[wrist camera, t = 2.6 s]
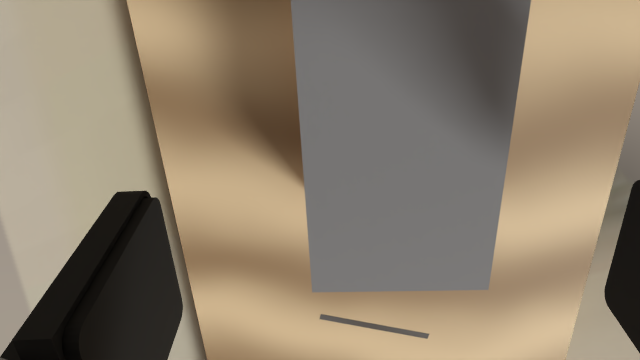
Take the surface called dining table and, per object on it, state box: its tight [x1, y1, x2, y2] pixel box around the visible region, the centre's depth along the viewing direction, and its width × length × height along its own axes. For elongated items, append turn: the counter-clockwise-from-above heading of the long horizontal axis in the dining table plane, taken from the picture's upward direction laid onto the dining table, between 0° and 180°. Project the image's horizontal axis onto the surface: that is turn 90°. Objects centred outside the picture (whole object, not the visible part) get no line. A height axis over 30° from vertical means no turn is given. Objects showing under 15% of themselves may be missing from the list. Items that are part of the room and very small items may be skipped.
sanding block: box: [291, 0, 531, 292], centre depth 15 cm, size 9×5×5 cm, turn 3°
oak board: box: [127, 0, 640, 360], centre depth 22 cm, size 28×16×2 cm, turn 3°
